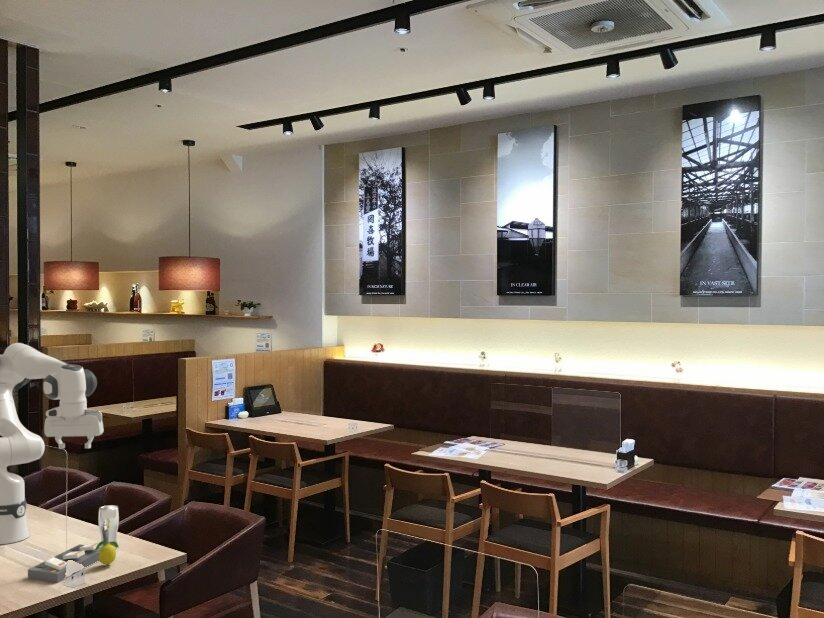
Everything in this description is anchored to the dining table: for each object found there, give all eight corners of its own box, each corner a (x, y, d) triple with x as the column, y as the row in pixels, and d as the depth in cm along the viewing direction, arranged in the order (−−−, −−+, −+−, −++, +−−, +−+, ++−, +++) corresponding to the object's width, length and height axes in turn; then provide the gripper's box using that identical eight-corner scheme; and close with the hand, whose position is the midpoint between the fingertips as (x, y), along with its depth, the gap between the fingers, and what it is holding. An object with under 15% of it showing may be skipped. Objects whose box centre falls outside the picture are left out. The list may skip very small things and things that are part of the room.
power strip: (27, 578, 245) (27, 568, 245) (79, 552, 268) (79, 543, 268) (57, 582, 241) (57, 573, 241) (107, 556, 264) (107, 547, 264)
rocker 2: (63, 559, 253) (62, 555, 253) (71, 555, 256) (70, 552, 256) (77, 557, 251) (76, 553, 251) (85, 553, 255) (84, 550, 255)
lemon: (95, 569, 252) (94, 541, 252) (98, 563, 258) (98, 535, 258) (115, 568, 254) (115, 539, 253) (118, 561, 259) (118, 533, 259)
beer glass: (111, 552, 268) (111, 511, 268) (94, 550, 270) (94, 510, 269) (123, 545, 275) (122, 505, 275) (106, 543, 277) (105, 504, 276)
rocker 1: (44, 564, 245) (45, 560, 245) (53, 560, 249) (53, 556, 249) (59, 570, 244) (60, 566, 244) (67, 566, 247) (68, 562, 247)
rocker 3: (80, 551, 261) (79, 547, 261) (87, 547, 264) (86, 544, 264) (93, 549, 259) (93, 545, 259) (100, 545, 262) (100, 542, 262)
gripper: (105, 408, 267) (107, 446, 267) (50, 409, 268) (52, 446, 268) (97, 411, 261) (99, 449, 261) (41, 412, 261) (42, 450, 262)
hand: (74, 448), depth 265 cm, fingers open, 8 cm apart
